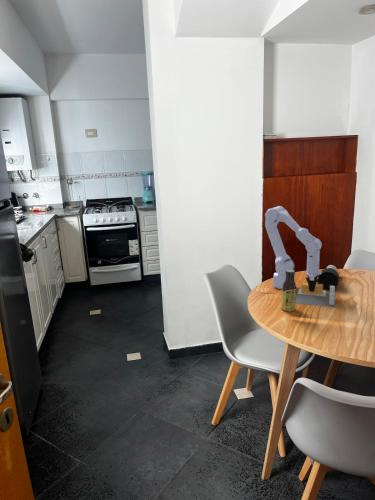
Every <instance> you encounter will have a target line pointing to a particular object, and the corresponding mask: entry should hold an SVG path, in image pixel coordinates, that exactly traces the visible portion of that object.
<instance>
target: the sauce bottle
mask: <svg viewBox="0 0 375 500" xmlns="http://www.w3.org/2000/svg"><path fill="white" fill-rule="evenodd" d="M285 273H286V278H285V279H286V280H285V281H284V283H283V289H281V304H280V306H281V307H280V308H281V310H282V311H283V312H286V313H288V312H289V313H290V312H291V313H292V312H295V310H296V306H297V304H296V295H297V284H296V282H295V274H296V271H295V269H293V270H291V269H288V270H286V272H285Z"/></svg>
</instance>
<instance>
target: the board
mask: <svg viewBox="0 0 375 500" xmlns="http://www.w3.org/2000/svg"><path fill="white" fill-rule="evenodd" d="M329 296H330V290H323V293H322V294H310V293H301V288H297V290H296V305H304V306H306V305H308V306H318V307H328V308H336V305H337V304H336V294H335V295H334V305H329Z"/></svg>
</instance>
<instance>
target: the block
mask: <svg viewBox="0 0 375 500" xmlns="http://www.w3.org/2000/svg"><path fill="white" fill-rule="evenodd" d="M300 289H301V293H310V294H322V293H323V291H324V290H323V284H318V283H316V286H315V290H314V292H311V291H309V286H308V282H301V288H300Z"/></svg>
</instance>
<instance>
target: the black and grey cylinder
mask: <svg viewBox="0 0 375 500" xmlns="http://www.w3.org/2000/svg"><path fill="white" fill-rule="evenodd" d="M320 272H321V274H319V276H318V277H317V279H318V281H317V283H316V284H323V291H330V286H335V290H336V289H337V288H338V286H339V281H340V275H339V272H338V269H337V267H336V266H335V265H332V264H329V265H328V266H326V268H324V269H322V270H321V271H320Z"/></svg>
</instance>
